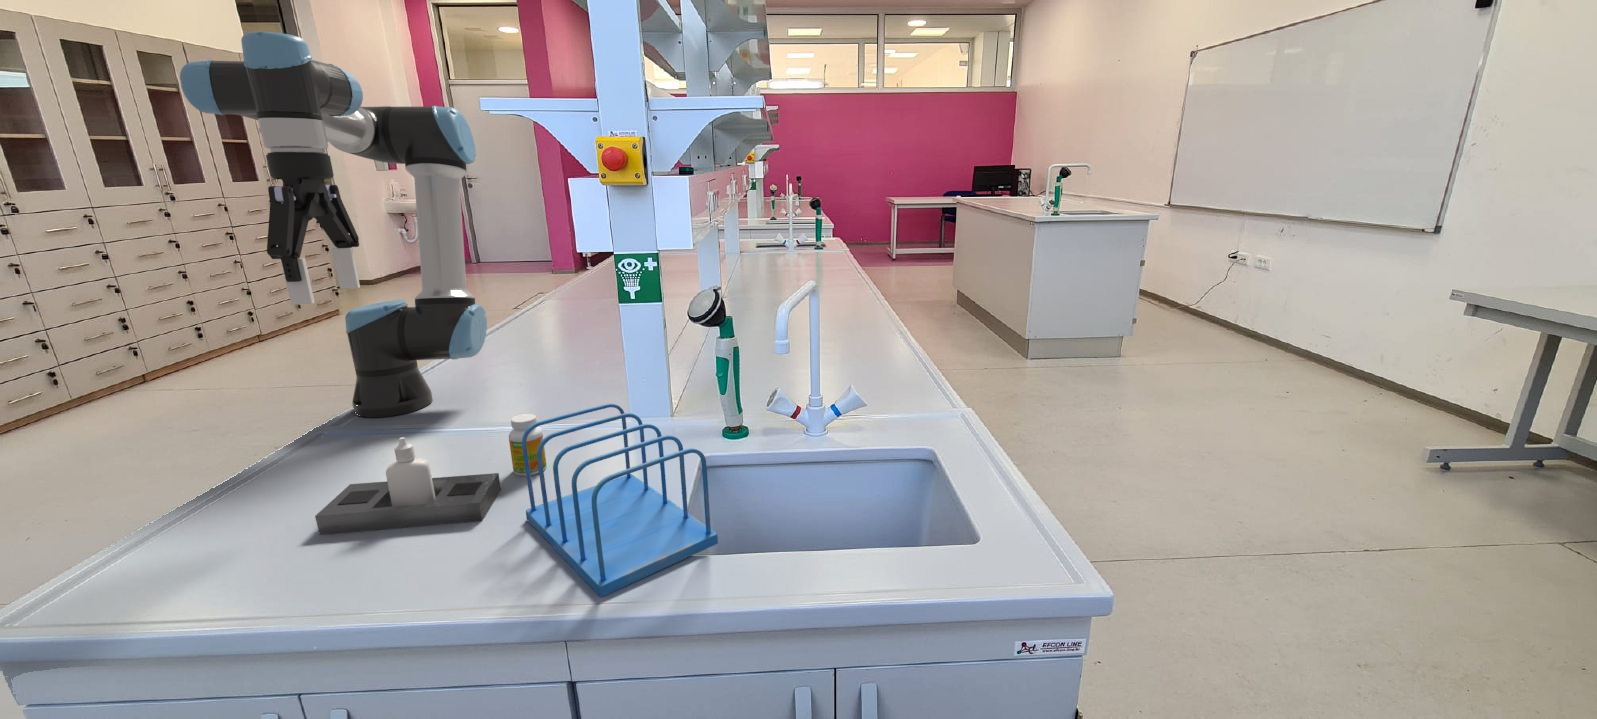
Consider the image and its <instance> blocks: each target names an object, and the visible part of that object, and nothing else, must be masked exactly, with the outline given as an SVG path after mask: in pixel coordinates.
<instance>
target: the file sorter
mask: <svg viewBox="0 0 1597 719" xmlns="http://www.w3.org/2000/svg"><path fill="white" fill-rule="evenodd" d="M608 408H615V409H617V410H618V411H619V413H620V414H618V415H613V416H608V417H606V418H601V419H598V420H594V421H591V422H586V423H583V424H580V425H577V426H572V427H568V428H566V429H565V428H564V429H562V430H558V431H555V432H553V433H550V434H548V435H546V436H545V437H543V440H542V441H541V443H540V444H539V447H538V450H537V462H538V469H539V473H538V475H539V482H540V489H541V497H542V503H541V504H539V505H536V503H535V502H536V501H535V496H534V488H533V482H532V475H531V474H530V468H529V461H528V453H527V445H526V442H527V436H528V435H529V433H530V432H531V431H532V430H533V429H534V428H536V427H540V426H543V425H548V424H551V423H555V422H558V421H561V420H565V419H570V418H573V417H576V416H581V415H584V414H589V413H592V412H596V411H600V410H605V409H608ZM626 418H633V419H635V420H636V421H637V423H638V425H635V426H631V427H629V428H627V420H626ZM620 419H621V424H622V429H621V430H617V431H614V432H611V433H607V434H604V435H601V436H597V437H593V438H590V439H587V440H583V441H581V442H577V443H574V444H570V445H569V446H566V447H564V448H563V449H562V450H560V451H559V452H558V454H556V455H555V458H554V461H553V464H552V471H553V480H554V481H553V483H554V489H555V490H554V491H555V496H556V498H555V499H553V500H550V501H548V494H547V488H546V487H547V486H546V481H545V480H546V479H545V472H544V471H545V470H544V471H543V464H542V449H543V447H544V448H545V445H546V444H547V443H548V442H549V441H550V440H552V439H553V438H556V437H560V436H563V435H566V434H567V435H568V434H569V433H570V434H571V433H575V432H578V431H581V430H583V429H588V428H591V427H594V426H595V427H596V426H600V425H603V424H607V423H610V422H613V421H617V420H620ZM644 429H652V430H654V432H655V433H656V435H657V436H656V437H655V438H651V439H649V440H645V431H644ZM637 431H639V438H640V442H639V443H635V444H632V445H629V440H628V439H629V438H628V434H630V433H633V432H637ZM621 436H623V437H622V438H623V445H624V446H623V448H619V449H616V450H613V451H609V452H607V453H604V454H601V455H598V456H595V457H591V458H589V459H586V460H585V461H583V462H582V463H580V464H579V465H578V466H577V467H576V468H575V470H574V472H573V474H572V476H571V477H572V478H571V491H572V493H571V494H567V495H564V496H562V492H561V485H560V484H561V483H560V476H559V464H560V461H561V459H562V458H563V456H565V455H566V454H568V452H570V451H573V450H576V449H580V448H583V447H586V446H589V445H592V444H596V443H600V442H602V441H606V440H609V439H612V438H616V437H621ZM668 440H670V441H674V442H675V444H676V445H677V447H678V448H677V449H678V451H676V452H673V453H670V454H667V455H665V454H664V453H665V452H664V444H663V442H664V441H668ZM654 444H657V445H658V446H657V447H658V454H659V457H658V458H655V459H651V460H650V461H647V455H646V447H648V446H650V445H651V446H652V445H654ZM522 449H523V457H524V464H525V471H526V476H525V477H526V484H527V490H528V497H529V502H530V507H529V508H526V509H525V515H526V516H525V517H526V520H527V521H528V523H530V524H531V525H532V527H533V528H535V530H536V531H537V532H539V534H540V535H541V536H542V537H543V538H544V539H545V540H546V541H547V542H548V544H549V545H551V546H552V548H554V549H555V550H556V551H557V553H558V554H559V555H560V556H561V557H563V559H564V560H565V561H566V562H567V563H568V564H569V565H570V566H571V568H572V569H573V570H575V572H576V573H577V574H578V575H579V576H580V577H581V578H582V579H583V580H584V581H585V582H586V583H587V584H588V585H589V586H590V587H591V588H592V590H593V591H594V592H595V593H596V594H597V595H598V596H599V597H601V598H603V597H605V596H607V595H609V594H612V593H613V592H616V591H617V590H620V589H622V588H624V587H626V586H629V585H631V584H633V583H635V582H637V581H639V580H641V579H644V578H646V577H648V576H651V575H652V574H655V573H657V572H659V571H661V570H663V569H665V568H669V567H670V566H672V565H674V564H677V563H679V562H681V561H683V560H685V559H688V558H689V557H692V556H694V555H696V554H698V553H700V552H703V551H704V550H707V549H709V548H711V547H713V546H715V545H717V544H719V541H718V540H719V539H718V538H719V537H718V533H717V532H716V531H715V530H713V529H712V528H711V513H710V496H709V495H710V494H709V482H708V467H707V460H706V457H705V455H704V453H703V452H702V451H701V450H699V449H696V448H695V447H694V448H691V447H689V448H685V449H684V447H683V444H682V441H681V440H680V439H679V438H678V437H676V436H674V435H670V434H669V435H668V434H667V435H663V434H662V432H661V430H660V429H659V428H658V427H657V426H656V425H654V424H651V423H643V421H642V420H641V418H640V417H639V416H638V415H637V414H635V413H631V412H626V413H625V411H624V409H623V408H622V407H620V405H618V404H616V403H605V404H601V405H597V406H593V407H589V408H585V409H582V410H577V411H572V412H569V413H566V414H563V415H558V416H554V417H550V418H547V419H543V420H540V421H537V422H536V423H534V424H532V425H531V426H530V427H528V428H527V430H526V431H525V433H524V435H523V437H522ZM639 449H640V452H641V460H642V462H641V463H640V464H637V465H634V466H632V467H631V464H630V452H632V451H634V450H639ZM622 454H624V455H625V469H623V470H620V471H617V472H615V473H612V474H609V475H607V476H605V477H604V478H602V479H601V480H600V481H599V482H598V483H597V484H596V485H593V486H591V487H588V488H585V489H581V490H579V491H578V485H577V484H578V477H579V475H580V473H581V472H582V470H584V469H585V468H586V467H587V466H590V465H592V464H594V463H597V462H600V461H603V460H604V461H605V460H607V459H610V458H613V457H616V456H619V455H622ZM688 454H696V455H698V457H699V458H700V462H701V471H702V488H703V489H702V490H703V500H704V502H703V504H704V505H703V506H704V519H705V520H704V521H705V523H703V522H702V521H700V520H699V519H697V518H696V517H694V516H693V515H692V514H690V513H689V510H688V499H687V498H688V496H687V483H686V482H687V481H686V469H685V468H686V467H685V466H686V465H685V455H688ZM675 458H678V459H679V471H680V472H679V473H680V483H681V496H682V507H680V506H678V505H677V504H676V503H674V502H673V501H671V500H669V499H668V495H667V494H668V493H667V482H666V467H665V462H667V461H670V460H673V459H675ZM657 464H659V466H660V467H659V468H660V480H661V492H662V493H660V492H658V491H657V490H655V489H654V488H653V487H651V486H650V485H649V480H648V468H650V467H652V466H655V465H657ZM641 470H642V475H643V481H642V480H641V479H639V478H638V477H636V476H635V475H634V474H632V473H636V472H638V471H641ZM687 557H688V558H687Z"/></svg>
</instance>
